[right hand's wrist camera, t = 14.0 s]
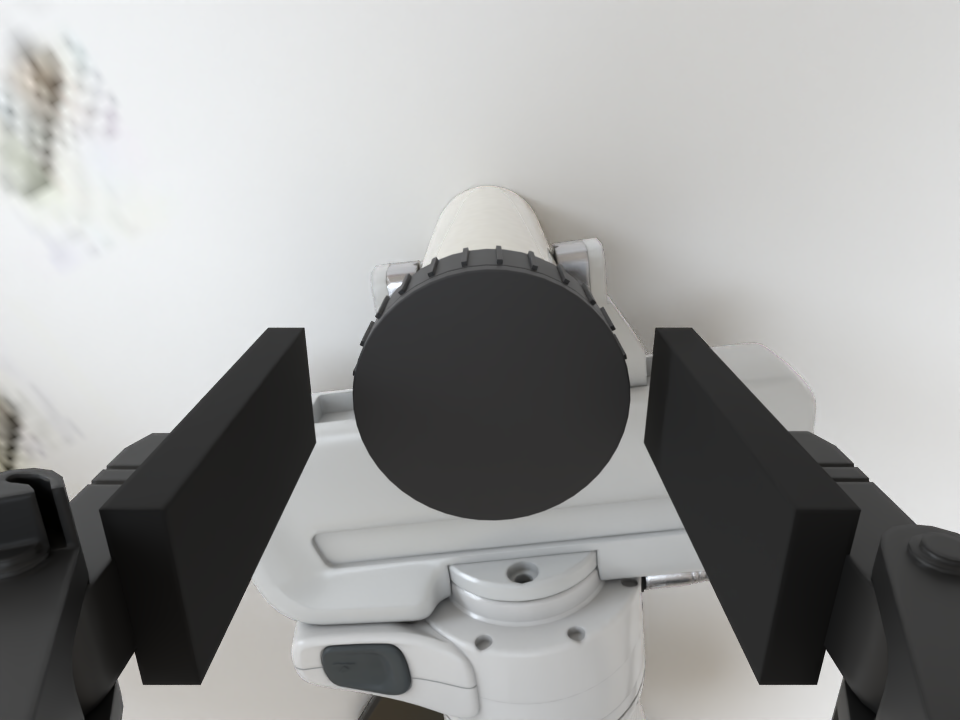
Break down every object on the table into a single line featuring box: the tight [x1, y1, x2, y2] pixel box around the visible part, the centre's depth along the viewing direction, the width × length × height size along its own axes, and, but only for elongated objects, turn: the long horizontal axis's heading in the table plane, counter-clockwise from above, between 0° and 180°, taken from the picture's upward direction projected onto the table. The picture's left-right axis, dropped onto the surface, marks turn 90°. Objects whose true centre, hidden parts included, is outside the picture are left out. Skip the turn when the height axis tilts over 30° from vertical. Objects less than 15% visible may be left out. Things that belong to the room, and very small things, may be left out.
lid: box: [352, 246, 630, 521], centre depth 14 cm, size 6×6×2 cm
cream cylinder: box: [420, 186, 557, 269], centre depth 20 cm, size 4×4×15 cm
